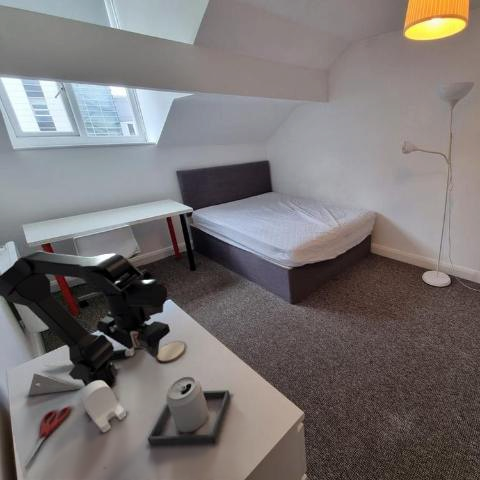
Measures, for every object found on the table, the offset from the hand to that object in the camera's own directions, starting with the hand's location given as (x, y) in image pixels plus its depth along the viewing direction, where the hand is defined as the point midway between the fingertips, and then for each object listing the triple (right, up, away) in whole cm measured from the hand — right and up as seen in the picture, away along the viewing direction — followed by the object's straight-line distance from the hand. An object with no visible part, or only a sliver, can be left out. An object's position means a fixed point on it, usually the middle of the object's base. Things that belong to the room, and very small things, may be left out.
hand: (143, 351), depth 72 cm
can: (+15, -16, -4) cm, 22 cm away
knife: (-26, -9, +11) cm, 30 cm away
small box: (-14, -6, +21) cm, 26 cm away
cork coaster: (-2, -7, +16) cm, 18 cm away
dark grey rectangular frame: (+15, -15, -4) cm, 22 cm away
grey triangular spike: (-22, -13, +7) cm, 26 cm away
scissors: (-20, -17, -7) cm, 27 cm away
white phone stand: (-8, -16, -2) cm, 18 cm away
